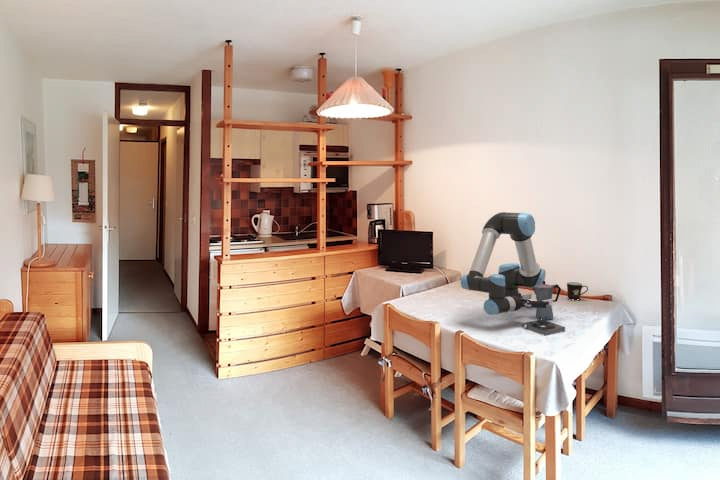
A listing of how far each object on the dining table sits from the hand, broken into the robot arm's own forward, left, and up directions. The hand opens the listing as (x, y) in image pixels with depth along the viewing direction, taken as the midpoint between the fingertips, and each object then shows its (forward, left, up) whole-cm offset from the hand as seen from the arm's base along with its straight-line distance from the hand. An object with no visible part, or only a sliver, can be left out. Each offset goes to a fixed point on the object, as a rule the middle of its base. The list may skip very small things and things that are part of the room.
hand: (541, 298), depth 244 cm
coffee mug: (-52, -18, -11) cm, 56 cm away
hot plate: (+12, +13, -11) cm, 21 cm away
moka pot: (-4, 0, -11) cm, 12 cm away
